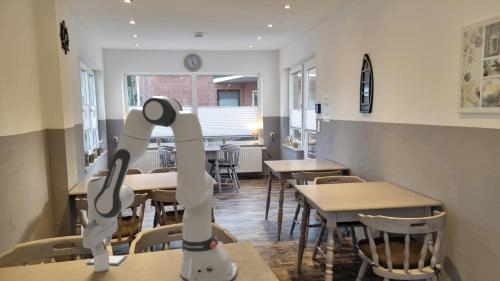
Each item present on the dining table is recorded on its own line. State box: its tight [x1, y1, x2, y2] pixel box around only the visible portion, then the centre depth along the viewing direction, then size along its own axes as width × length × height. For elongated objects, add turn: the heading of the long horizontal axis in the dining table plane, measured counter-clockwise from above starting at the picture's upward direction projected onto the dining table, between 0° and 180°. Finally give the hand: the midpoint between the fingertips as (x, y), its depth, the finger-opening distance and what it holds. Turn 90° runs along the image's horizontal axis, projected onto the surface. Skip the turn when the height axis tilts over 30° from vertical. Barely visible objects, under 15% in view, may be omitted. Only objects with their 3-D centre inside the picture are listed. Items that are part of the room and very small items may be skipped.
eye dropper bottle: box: [93, 241, 110, 273], centre depth 138 cm, size 4×6×12 cm
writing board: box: [86, 255, 128, 266], centre depth 147 cm, size 14×8×1 cm, turn 84°
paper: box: [89, 255, 126, 263], centre depth 147 cm, size 12×7×1 cm, turn 84°
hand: (101, 250), depth 139 cm, fingers open, 8 cm apart
